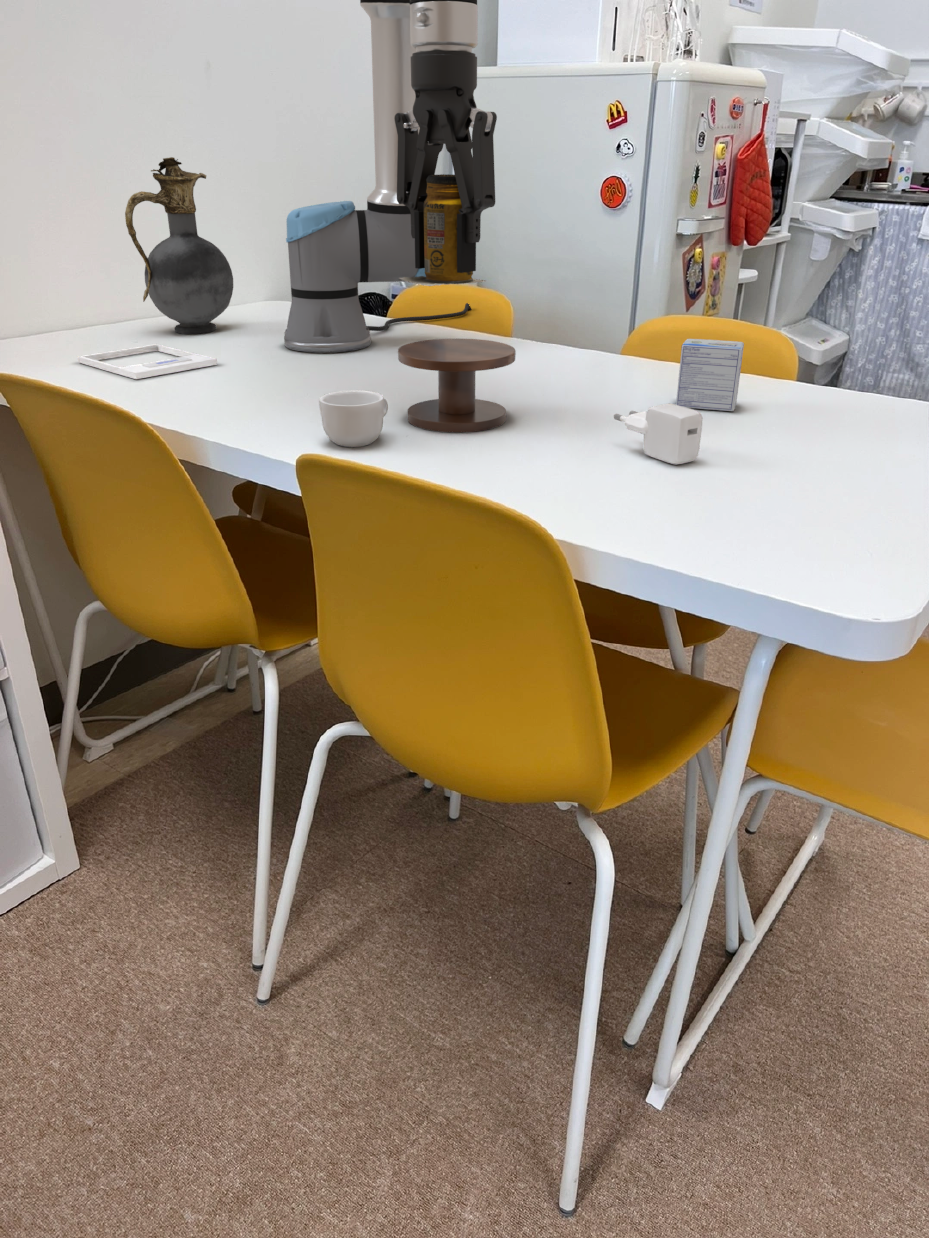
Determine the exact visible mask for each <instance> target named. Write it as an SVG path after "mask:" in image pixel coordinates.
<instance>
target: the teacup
mask: <svg viewBox="0 0 929 1238" xmlns="http://www.w3.org/2000/svg"><path fill="white" fill-rule="evenodd" d="M318 406H319V411H320V417H321V418H320V419H321V425H322V428H323V431H324V433H325V435H326V436H327V438H328V439H329V440H330V441H331V442H333V443H334V444H335V445H337V446H341V447H345V448H361V447H366V446H369V445H371V444H372V443H374V441H376V440H377V439H378V438H379V436H380V435H381V433H382V431H383V427H384V418H385V417H386V415H387V413H388V410H389V404H388V401H387V399H386V398H385V396H384V394H382V393H380V392H377V391H373V390H372V391H371V390H362V389H361V390H360V389H353V390H351V389H349V390H348V389H347V390H339V391H332V392H329V393H326V394H323V395H321V396H319V398H318Z"/></svg>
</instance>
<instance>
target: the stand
mask: <svg viewBox="0 0 929 1238" xmlns="http://www.w3.org/2000/svg"><path fill="white" fill-rule="evenodd" d="M516 351H517V350H516V348H515V347H514V346H512V345H510V344H507V343H505V342H501V341H494V340H489V339H479V338H435V339H425V340H418V341H413V342H409V343H406V344H404V345H401V346H400V347H399V348H398V349H397V360H398V362H399V363H400V364H402V365H405V366H406V367H409V368H410V367H411V368H415V369H419V370H425V371H435V372H437V373H438V377H437V381H438V383H437V385H438V391H437V392H438V398H434V399H428V400H423V401H420V402H416V403H414V404H412V405H410V406H409V407H408V408H407V412H406V413H407V421H408V423H409V424H410V425H412V426H414V427H416V428H419V429H421V430H426V431H431V432H432V431H433V432H439V433H456V434H457V433H476V432H483V431H488V430H492V429H495V428H498V427H500V426H503V425H504V424H505V423H506V421H507V408H506V407H505V406H504V405H501V404H500V403H497V402H495V401H490V400H486V399H485V400H484V399H478V398H476V372H479V371H488V370H495V369H500V368H503V367H504V368H505V367H507V366H509V365H512V364H513V363H515V361H516V355H517V354H516V353H517V352H516Z"/></svg>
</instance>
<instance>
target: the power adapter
mask: <svg viewBox="0 0 929 1238" xmlns="http://www.w3.org/2000/svg"><path fill="white" fill-rule="evenodd" d="M613 419H614V420H616V421H619V422H623V423H624V426H625V428H626V429H627V430H630V431H632V432H636V433H638V434H642V435H643V442H642V443H643V444H642V445H643V446H642V447H643V448H642V450H643V453H644V454H645V455H646V456H648V457H651V458H653V459H656V460H659V461H662V462H665V463H667V464H671V465H682V464H686V463H690V462H694V461H696V460H697V458H698V456H699V453H700V447H701V439H702V431H703V419H704V418H703V415H702V413H701V412H700V411H698V410H696V409H694V408H686V407H683V406H679V405H676V403H663V404H657V405H654V406H650V407H648V408H647V410H646V411H640V412H638V411H636V410H630V411H629V413H628V416H625V415H623V414H619V413H615V414H614V415H613Z"/></svg>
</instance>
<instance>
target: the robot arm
mask: <svg viewBox="0 0 929 1238" xmlns="http://www.w3.org/2000/svg"><path fill="white" fill-rule="evenodd" d="M359 1H360V2H359V4H360V7H361V8H362V10H363V11H364V12H365V13H366V14H367V15H368V17H369V21H370V39H371V41H370V42H371V69H372V70H371V71H372V105H373V106H372V107H373V140H374V141H373V143H374V174H375V175H374V177H375V187H374V189H373V190H372V191H371V193H370V194H369V195H368V196H367V197H366V207H367V208H366V209H360V210H359V209H356V205H355V203H354V202H353V201H352V200H343V201H332V202H325V203H318V204H317V203H316V204H312V205H306V206H301V207H298V208H295V209H292V210H291V211H289V212H288V214H287V217H286V222H285V223H286V238H285V243H287V250H288V267H289V280H290V281H289V282H290V296H291V303H290V308H289V314H288V319H287V324H286V325H287V326H286V329H285V330H284V337H283V339H284V347H285V348H287V349H289V350H293V351H295V352H296V351H297V352H302V353H303V352H304V353H318V354H319V353H320V354H321V353H323V354H325V353H328V354H329V353H343V352H352V351H358V350H361V349H365V348H367V347H369V346H371V342H372V341H371V339H372V338H371V337H372V336H371V331H372V332H384V331H386V330H388V328H389V326H390V325H391V324H396V323H403V322H421V321H433V320H442V319H450V318H456V317H460V316H464V315H466V314H467V313H468V311H472V306H471V305H470V303H469V302H467V303H465V305H464V309H463V310H461V311H456V312H452V313H444V314H443V313H442V314H435V315H423V316H403V317H396V318H391V319H388V320H386V321H385V323H384V325H380V326H378V325H367V323H366V319H365V315H364V313H363V309H362V306H361V303H360V299H359V283H400V282H401V283H402V282H405V283H406V282H407V283H408V284H409V283H410V282H408V281H404V280H402V279H399V278H403V277H408V278H409V277H411V278H413V277H420V276H424V277H426V275H425V257H424V201H425V200H426V198H427V193H426V190H427V181H426V180H427V178H428V176H429V175H436V169H437V166H438V165H437V164H438V160H439V155H440V153H441V152H442V151H443V149H444V145H445V149H446V151H447V152H448V153H449V155H450V160H451V163H452V168H453V173H454V175H455V178H456V182H457V187H458V191H459V196H460V200H461V205H462V209H460V210H459V212H460V213H461V214H457V273H465V272H472V271H473V272H476V271H477V243H480V242H481V241H480V240H481V223H482V222H481V220H482V219H481V216H482V212H483V211H485V210H487V209H489V208H493V207H494V206H495V205H496V181H495V180H496V179H495V178H496V177H495V175H496V174H495V147H494V146H495V145H494V134H495V129H496V124H497V119H498V116H497V113H496V112H495V111H487V110H486V111H485V110H482V109H480V108H478V106H477V103H476V101H475V96H474V93H475V90H476V89H477V87H478V56H476V53H474V52H473V49H475V48H477V46H478V44H479V43H478V41H479V40H478V35H479V31H478V30H479V29H478V17H479V15H478V8H479V7H478V0H359ZM470 128H471V129H472V132H471V131H470ZM410 284H411V283H410ZM468 303H469V304H468ZM469 305H470V306H469Z"/></svg>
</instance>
